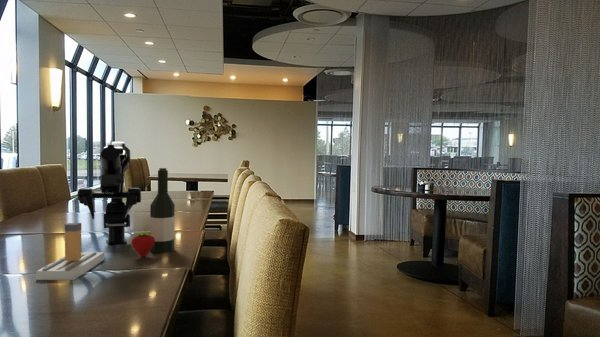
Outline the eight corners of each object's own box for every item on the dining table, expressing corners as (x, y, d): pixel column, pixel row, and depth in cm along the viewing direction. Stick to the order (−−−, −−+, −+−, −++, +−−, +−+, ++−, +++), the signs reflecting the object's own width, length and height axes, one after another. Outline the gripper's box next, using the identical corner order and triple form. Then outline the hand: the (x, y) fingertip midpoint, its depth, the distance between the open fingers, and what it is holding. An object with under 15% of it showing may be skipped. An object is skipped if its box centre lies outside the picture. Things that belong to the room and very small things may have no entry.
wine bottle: (178, 248, 146) (179, 168, 145) (164, 254, 138) (165, 169, 137) (160, 246, 149) (160, 167, 147) (144, 251, 141) (145, 168, 140)
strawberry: (129, 256, 134) (129, 227, 134) (151, 253, 139) (151, 225, 138) (134, 260, 129) (134, 230, 129) (157, 257, 134) (157, 228, 134)
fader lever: (69, 258, 120) (69, 223, 120) (81, 258, 121) (81, 223, 120) (64, 260, 118) (64, 224, 117) (77, 260, 118) (77, 224, 118)
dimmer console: (72, 259, 129) (72, 250, 129) (104, 259, 130) (104, 250, 130) (36, 279, 109) (36, 268, 109) (74, 279, 110) (74, 268, 110)
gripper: (77, 163, 125) (71, 206, 117) (140, 164, 132) (139, 205, 124) (82, 182, 134) (77, 223, 126) (141, 182, 141) (140, 221, 132)
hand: (108, 218), depth 127 cm, fingers open, 9 cm apart
